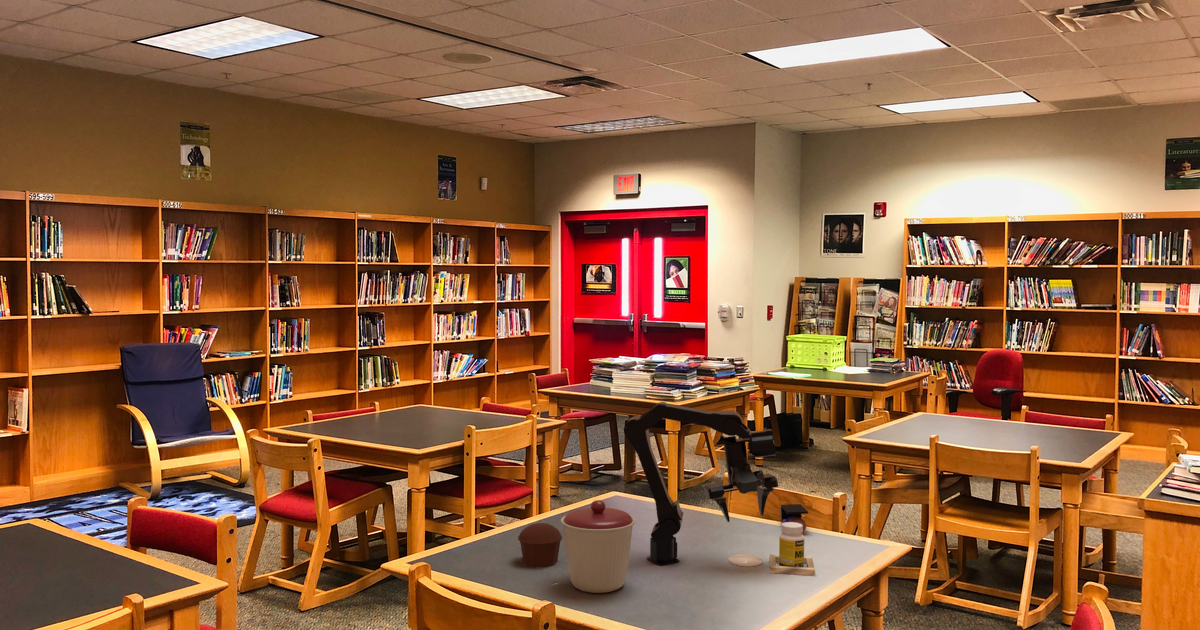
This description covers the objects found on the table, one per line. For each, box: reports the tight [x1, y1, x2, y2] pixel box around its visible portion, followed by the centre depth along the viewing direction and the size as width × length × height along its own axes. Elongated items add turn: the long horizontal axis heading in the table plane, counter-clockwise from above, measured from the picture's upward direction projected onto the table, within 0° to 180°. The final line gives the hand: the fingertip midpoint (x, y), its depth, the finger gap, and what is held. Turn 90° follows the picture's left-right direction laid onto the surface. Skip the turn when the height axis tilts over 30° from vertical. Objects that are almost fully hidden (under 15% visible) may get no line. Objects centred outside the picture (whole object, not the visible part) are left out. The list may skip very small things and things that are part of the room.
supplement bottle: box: [778, 522, 805, 567], centre depth 235 cm, size 6×6×11 cm
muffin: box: [517, 522, 563, 568], centre depth 239 cm, size 12×11×10 cm
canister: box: [560, 499, 636, 594], centre depth 220 cm, size 18×18×21 cm
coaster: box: [728, 553, 764, 568], centre depth 241 cm, size 9×9×1 cm
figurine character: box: [778, 503, 809, 533], centre depth 272 cm, size 7×8×15 cm
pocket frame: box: [769, 554, 816, 577], centre depth 236 cm, size 11×11×2 cm
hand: (745, 518), depth 237 cm, fingers open, 9 cm apart
